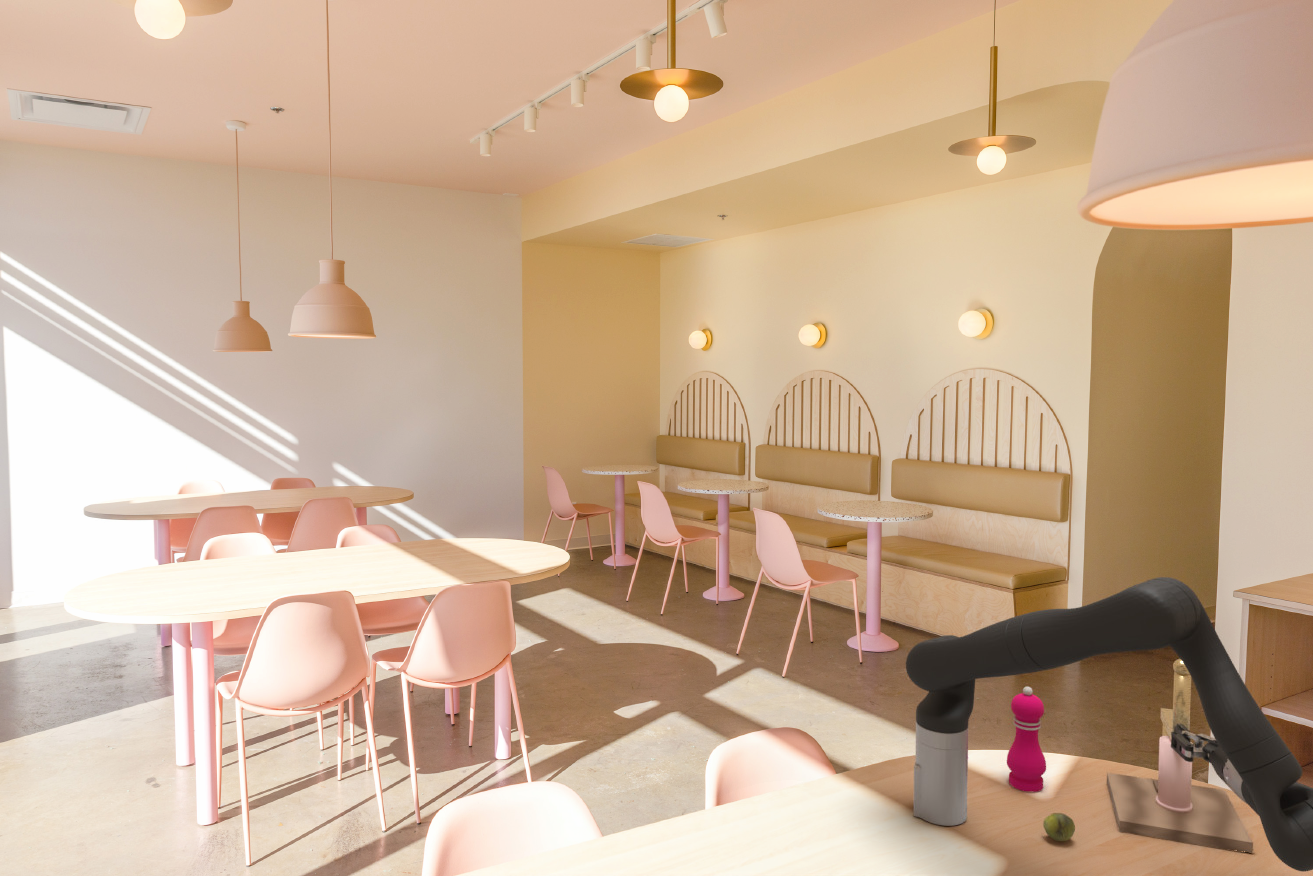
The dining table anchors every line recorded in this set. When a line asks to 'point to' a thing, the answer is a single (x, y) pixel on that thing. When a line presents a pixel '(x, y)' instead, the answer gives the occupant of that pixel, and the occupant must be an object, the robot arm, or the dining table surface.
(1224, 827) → the base
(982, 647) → the robot arm
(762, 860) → the dining table surface
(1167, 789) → the cover
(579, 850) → the dining table surface
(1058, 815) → the lime
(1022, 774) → the pepper mill
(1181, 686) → the brass crank handle
